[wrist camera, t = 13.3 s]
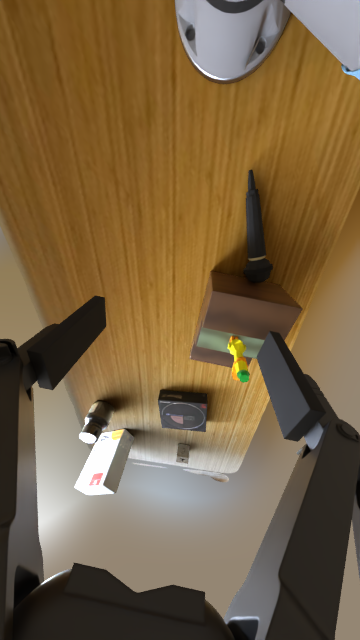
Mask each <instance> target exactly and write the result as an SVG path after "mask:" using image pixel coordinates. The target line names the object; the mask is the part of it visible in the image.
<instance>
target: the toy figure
mask: <svg viewBox="0 0 360 640" xmlns="http://www.w3.org/2000/svg"><path fill="white" fill-rule="evenodd" d="M228 349H230V352H231V354H233V355H234V363H233V367H232V377H233V379H234V380H240V381H241V382H247V381H248V380H249V375H250V374H249V372H248V369H247V368H248V365H247V361H246V358H244V357H243V352H244V351H245V350H246V345H245V344H244V345H243V342H242V341H240V340H238V337H235V339H234V336H231V338H230V343H228Z"/></svg>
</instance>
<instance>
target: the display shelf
mask: <svg viewBox="0 0 360 640" xmlns="http://www.w3.org/2000/svg"><path fill="white" fill-rule="evenodd" d="M301 311H302V308H301V306H300V305H299V304H298V303H297V302H296V301H295V300H294V299H293V298H292V297H291V296H290V295H289V294H288V293H287V292H286V291H285V290H284V289H283V288H282V287H281V286H280V285H278V284H273V283H268V282H260V283H253V282H251V281H249V280H248V279H247V278H244V277H239V276H234V275H229V274H224V273H219V272H214V271H211V272H210V276H209V280H208V284H207V288H206V292H205V296H204V299H203V303H202V307H201V311H200V315H199V319H198V323H197V327H196V330H195V334H194V338H193V342H192V346H191V350H190V359H192V360H197V361H202V362H207V363H212V364H217V365H221V366H226V367H231V368H232V367H233V363H234V355H233V354H231V352H230V349H228V343H230V338H231V336H234V339H235V337H238V340H240V341H242V342H243V345H244V344H245V345H246V350H245V351H244V352H243V357H244V358H246V361H247V365H248V366H249V364H250V362H251V360H252V358H256V359H257V355H258V353H259V351H260V349H261V347H262V345H263V343H264V341H265V339H266V337H267V335H268V333H269V331H273V332H278V333H280V335H281V336H282V338H283V340H285V338H286V337H287V335H288V333H289V331H290V330H291V328H292V326H293V325H294V323H295V321H296V319H297V318H298V316H299V314H300V313H301Z"/></svg>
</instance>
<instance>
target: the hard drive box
mask: <svg viewBox="0 0 360 640" xmlns="http://www.w3.org/2000/svg"><path fill="white" fill-rule="evenodd" d="M133 440H134V437H133V436H132V435H131V434H130V433H129V432H128V431H126V430H125V429H122V430H117V431H112V432H106V433H103V434H101V436H100V438H99V440H98V442H97V443H96V444H95V446H94V448H93V450H92V452H91V454H90V456H89V458H88V460H87V462H86V464H85V467H84V469H83V471H82V473H81V475H80V477H79V479H78V481H77V483H76V485H75V488H77V489H78V490H80V491H82V492H83V493H85V494H86V495H97V494H114V493H116V492H117V489H118V486H119V482H120V479H121V476H122V473H123V470H124V467H125V464H126V461H127V458H128V455H129V452H130V449H131V446H132V443H133Z"/></svg>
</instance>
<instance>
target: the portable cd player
mask: <svg viewBox="0 0 360 640" xmlns="http://www.w3.org/2000/svg"><path fill="white" fill-rule="evenodd" d="M158 404H159V411H160V417H161V424H162V428H171V429H181V430H191V431H201V432H206V417H207V394H206V393H193V392H179V391H165V390H160V394H159V398H158Z"/></svg>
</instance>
